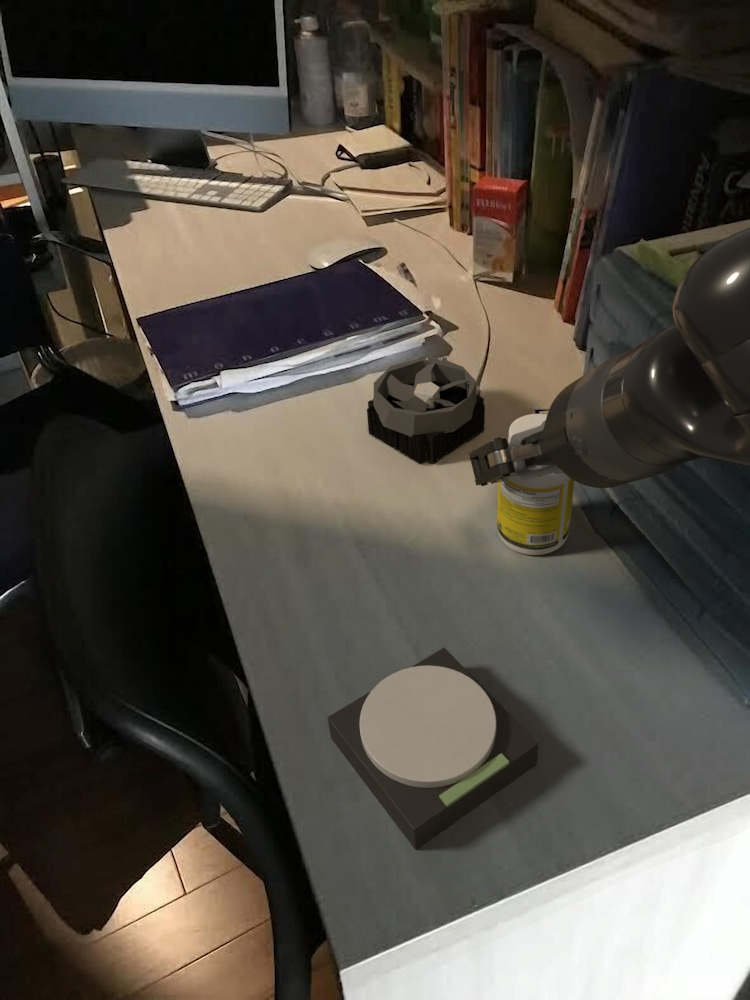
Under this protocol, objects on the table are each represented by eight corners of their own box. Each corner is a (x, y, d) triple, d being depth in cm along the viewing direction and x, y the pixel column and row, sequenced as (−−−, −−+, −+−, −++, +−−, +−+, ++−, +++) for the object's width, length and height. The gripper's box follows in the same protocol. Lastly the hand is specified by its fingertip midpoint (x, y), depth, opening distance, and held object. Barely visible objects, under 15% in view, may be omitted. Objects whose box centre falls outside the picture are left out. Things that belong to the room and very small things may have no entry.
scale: (536, 764, 56) (539, 736, 53) (415, 850, 52) (413, 823, 50) (444, 668, 62) (443, 639, 60) (330, 738, 58) (325, 710, 56)
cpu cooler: (423, 426, 76) (350, 385, 82) (425, 475, 80) (355, 433, 86) (499, 380, 81) (425, 345, 87) (497, 428, 85) (426, 391, 91)
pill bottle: (529, 500, 76) (536, 398, 69) (583, 533, 72) (596, 429, 65) (481, 532, 73) (483, 429, 66) (534, 569, 69) (542, 464, 62)
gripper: (715, 339, 53) (610, 396, 69) (502, 384, 51) (445, 432, 67) (746, 454, 52) (633, 484, 68) (533, 504, 50) (468, 523, 66)
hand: (540, 458), depth 67 cm, fingers open, 8 cm apart
